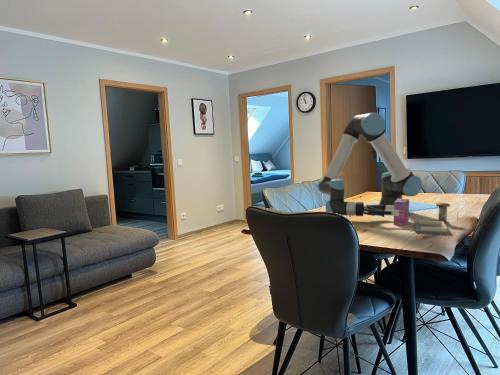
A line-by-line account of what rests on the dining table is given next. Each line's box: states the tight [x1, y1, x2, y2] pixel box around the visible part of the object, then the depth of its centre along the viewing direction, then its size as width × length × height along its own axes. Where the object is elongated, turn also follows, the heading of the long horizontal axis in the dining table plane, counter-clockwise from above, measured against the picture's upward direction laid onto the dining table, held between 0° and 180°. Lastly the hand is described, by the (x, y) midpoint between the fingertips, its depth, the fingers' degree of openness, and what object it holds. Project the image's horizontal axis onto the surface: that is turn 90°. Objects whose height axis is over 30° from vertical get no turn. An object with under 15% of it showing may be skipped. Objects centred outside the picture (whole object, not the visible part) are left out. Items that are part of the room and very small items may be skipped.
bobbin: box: [435, 202, 451, 226], centre depth 182 cm, size 6×6×10 cm
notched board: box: [414, 219, 452, 235], centre depth 171 cm, size 14×17×3 cm
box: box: [393, 198, 410, 226], centre depth 186 cm, size 10×6×12 cm, turn 148°
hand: (398, 210), depth 186 cm, fingers open, 13 cm apart
